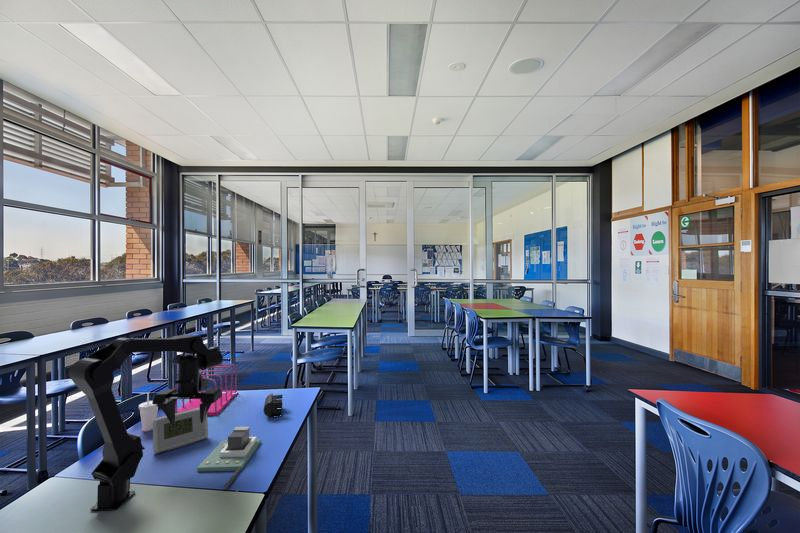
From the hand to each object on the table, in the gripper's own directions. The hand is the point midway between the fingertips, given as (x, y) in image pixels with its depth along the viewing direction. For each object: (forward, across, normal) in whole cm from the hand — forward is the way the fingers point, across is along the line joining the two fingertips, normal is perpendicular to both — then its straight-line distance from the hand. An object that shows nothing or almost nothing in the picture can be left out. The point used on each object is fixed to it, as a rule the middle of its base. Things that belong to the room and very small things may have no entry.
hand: (187, 422), depth 102 cm
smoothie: (+12, +27, -22) cm, 37 cm away
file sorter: (+12, +16, -44) cm, 49 cm away
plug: (+11, -14, -4) cm, 18 cm away
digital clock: (+12, +8, -10) cm, 18 cm away
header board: (+12, -13, -2) cm, 18 cm away
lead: (+12, -19, +9) cm, 24 cm away
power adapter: (+12, -16, -34) cm, 40 cm away
